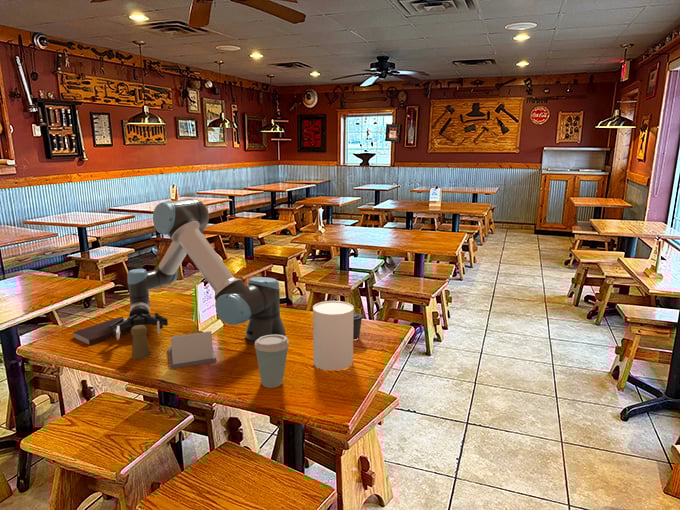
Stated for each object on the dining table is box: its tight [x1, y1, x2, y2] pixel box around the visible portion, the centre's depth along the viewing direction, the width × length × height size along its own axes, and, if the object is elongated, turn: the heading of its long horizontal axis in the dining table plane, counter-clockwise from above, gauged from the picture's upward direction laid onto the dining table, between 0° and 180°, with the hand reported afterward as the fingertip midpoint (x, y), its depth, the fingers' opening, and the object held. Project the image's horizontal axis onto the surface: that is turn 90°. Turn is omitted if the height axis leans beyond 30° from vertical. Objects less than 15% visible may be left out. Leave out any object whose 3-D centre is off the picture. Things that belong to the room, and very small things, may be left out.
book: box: [72, 316, 137, 346], centre depth 182 cm, size 12×19×3 cm, turn 145°
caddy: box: [167, 330, 217, 370], centre depth 162 cm, size 16×15×10 cm
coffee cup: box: [353, 312, 364, 339], centre depth 177 cm, size 8×8×10 cm
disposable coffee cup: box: [254, 334, 290, 389], centre depth 143 cm, size 11×11×15 cm
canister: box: [312, 300, 355, 370], centre depth 156 cm, size 14×14×20 cm
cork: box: [130, 324, 151, 360], centre depth 162 cm, size 6×6×11 cm
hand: (138, 333), depth 166 cm, fingers open, 13 cm apart
